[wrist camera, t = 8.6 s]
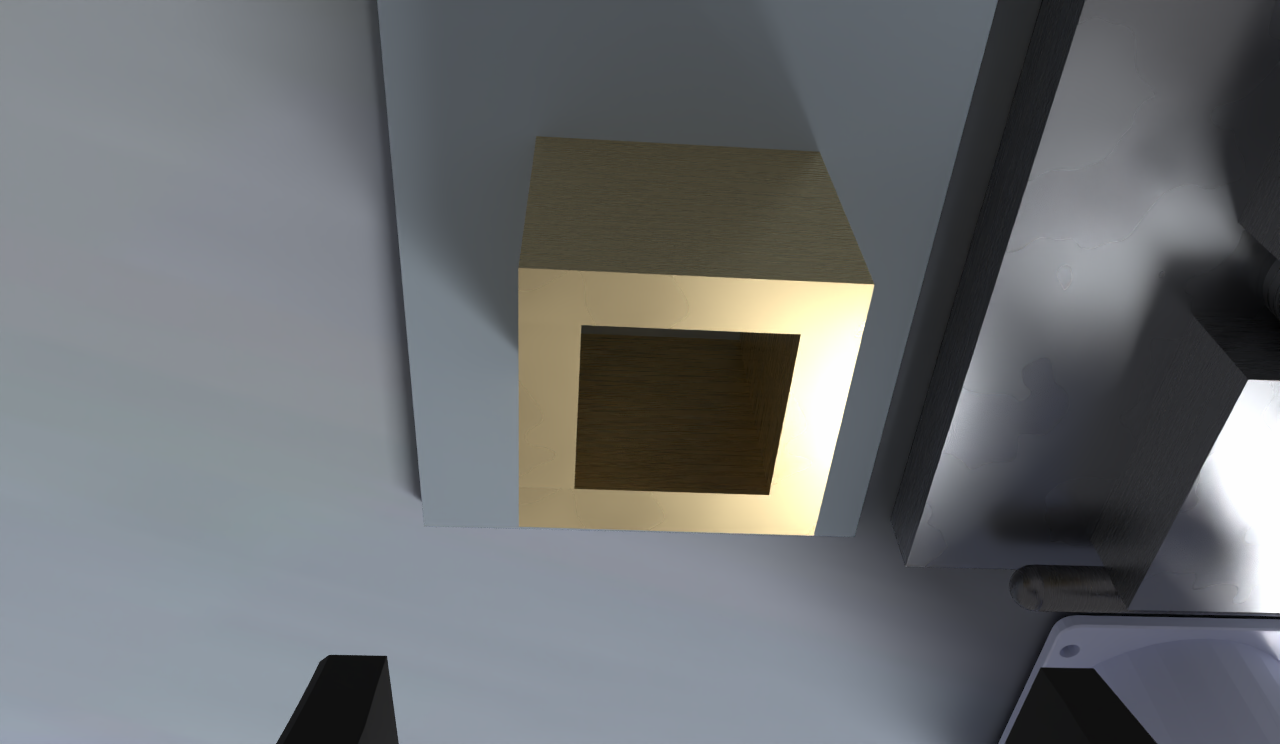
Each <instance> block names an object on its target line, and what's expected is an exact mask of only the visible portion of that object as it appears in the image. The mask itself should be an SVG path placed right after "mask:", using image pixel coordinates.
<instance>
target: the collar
mask: <svg viewBox="0 0 1280 744" xmlns="http://www.w3.org/2000/svg"><path fill="white" fill-rule="evenodd" d="M874 285H875V284H874V282H873V279H872V277H871V275H870V272H869V270H868V267H867V265H866V263H865V260H864V258H863V255H862V253H861V250H860V248H859V246H858V243H857V241H856V238H855V236H854V233H853V231H852V229H851V226H850V224H849V221H848V219H847V217H846V214H845V212H844V209H843V207H842V204H841V202H840V200H839V197H838V195H837V192H836V190H835V188H834V185H833V183H832V180H831V178H830V175H829V173H828V171H827V168H826V166H825V163H824V161H823V159H822V156H821V154H820V152H816V151H797V150H779V149H761V148H743V147H725V146H706V145H688V144H670V143H652V142H633V141H615V140H597V139H579V138H560V137H542V136H536V142H535V150H534V157H533V164H532V172H531V179H530V186H529V194H528V201H527V208H526V216H525V223H524V230H523V238H522V245H521V252H520V260H519V267H518V369H519V527H543V528H577V529H610V530H643V531H677V532H710V533H744V534H777V535H810V536H814V532H815V528H816V524H817V519H818V515H819V511H820V507H821V503H822V499H823V495H824V491H825V486H826V482H827V478H828V474H829V470H830V466H831V462H832V458H833V454H834V449H835V445H836V441H837V437H838V433H839V429H840V425H841V421H842V416H843V412H844V408H845V404H846V400H847V396H848V392H849V388H850V384H851V379H852V375H853V371H854V367H855V363H856V359H857V355H858V351H859V346H860V342H861V338H862V334H863V330H864V326H865V322H866V318H867V314H868V309H869V305H870V301H871V297H872V293H873V289H874ZM581 325H592V326H615V327H639V328H662V329H685V330H709V331H732V332H741V334H740V340H724V339H700V338H677V337H653V336H630V335H606V334H583V333H581Z"/></svg>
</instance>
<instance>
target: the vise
mask: <svg viewBox="0 0 1280 744" xmlns="http://www.w3.org/2000/svg"><path fill="white" fill-rule="evenodd" d="M891 523H892V526H893V529H894V532H895V535H896V539H897V542H898V545H899V548H900V551H901V554H902V557H903V560H904V563H905V567H935V568H979V569H1018V570H1017V571H1015V573H1014V574H1013V575H1012V577H1011V580H1010V593H1011V595H1012V598H1013V599H1014V600H1015V602H1016V603H1017V604H1018V605H1019V606H1021V607H1022V608H1024V609H1027V610H1030V611H1045V612H1094V613H1142V614H1191V615H1240V616H1280V0H1043V1H1042V5H1041V8H1040V11H1039V15H1038V18H1037V22H1036V25H1035V29H1034V32H1033V35H1032V39H1031V42H1030V46H1029V49H1028V52H1027V56H1026V59H1025V63H1024V66H1023V69H1022V73H1021V76H1020V80H1019V83H1018V87H1017V90H1016V93H1015V97H1014V100H1013V104H1012V107H1011V110H1010V114H1009V117H1008V121H1007V124H1006V128H1005V131H1004V134H1003V138H1002V141H1001V145H1000V148H999V151H998V155H997V158H996V162H995V165H994V169H993V172H992V175H991V179H990V182H989V186H988V189H987V192H986V196H985V199H984V203H983V206H982V209H981V213H980V216H979V220H978V223H977V227H976V230H975V233H974V237H973V240H972V244H971V247H970V250H969V254H968V257H967V261H966V264H965V268H964V271H963V274H962V278H961V281H960V285H959V288H958V291H957V295H956V298H955V302H954V305H953V308H952V312H951V315H950V319H949V322H948V326H947V329H946V332H945V336H944V339H943V343H942V346H941V349H940V353H939V356H938V360H937V363H936V367H935V370H934V373H933V377H932V380H931V384H930V387H929V390H928V394H927V397H926V401H925V404H924V407H923V411H922V414H921V418H920V421H919V425H918V428H917V431H916V435H915V438H914V442H913V445H912V448H911V452H910V455H909V459H908V462H907V466H906V469H905V472H904V476H903V479H902V483H901V486H900V489H899V493H898V496H897V500H896V503H895V507H894V510H893V513H892V517H891Z"/></svg>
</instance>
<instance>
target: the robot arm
mask: <svg viewBox="0 0 1280 744" xmlns="http://www.w3.org/2000/svg"><path fill="white" fill-rule="evenodd" d="M276 744H399V743H398V736H397V728H396V721H395V713H394V706H393V698H392V691H391V684H390V676H389V669H388V661H387V656H362V655H329V656H327V657H326V658H324V659H323V660H322V661H320V662H319V664H318V667H317V669H316V671H315V673H314V675H313V677H312V679H311V681H310V683H309V685H308V687H307V689H306V691H305V692H304V694H303V696H302V698H301V700H300V702H299V704H298V706H297V707H296V709H295V711H294V713H293V715H292V717H291V718H290V720H289V722H288V724H287V726H286V727H285V729H284V731H283V733H282V734H281V736H280V738H279V740H278V741H277V743H276ZM998 744H1280V619H1238V618H1189V617H1140V616H1090V615H1073V616H1067V617H1064V618H1062V619H1060V620H1059V621H1057V622H1056V624H1055V625H1054V626H1053V628H1052V630H1051V632H1050V634H1049V636H1048V638H1047V640H1046V642H1045V645H1044V647H1043V649H1042V651H1041V653H1040V655H1039V657H1038V660H1037V662H1036V664H1035V666H1034V668H1033V670H1032V672H1031V675H1030V677H1029V679H1028V681H1027V683H1026V685H1025V687H1024V690H1023V692H1022V694H1021V696H1020V698H1019V700H1018V702H1017V705H1016V707H1015V709H1014V711H1013V713H1012V715H1011V717H1010V720H1009V722H1008V724H1007V726H1006V728H1005V730H1004V732H1003V735H1002V737H1001V739H1000V741H999V743H998Z"/></svg>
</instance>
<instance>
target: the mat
mask: <svg viewBox="0 0 1280 744" xmlns="http://www.w3.org/2000/svg"><path fill="white" fill-rule="evenodd" d="M997 2H998V0H377V5H378V17H379V28H380V39H381V50H382V61H383V73H384V84H385V95H386V106H387V117H388V129H389V140H390V151H391V162H392V173H393V185H394V196H395V207H396V218H397V229H398V241H399V252H400V263H401V274H402V285H403V297H404V308H405V319H406V330H407V341H408V353H409V364H410V375H411V386H412V397H413V409H414V420H415V431H416V442H417V453H418V465H419V476H420V487H421V498H422V510H423V521H424V526H425V527H465V528H505V529H546V530H586V531H626V532H667V533H707V534H744V533H710V532H677V531H643V530H610V529H577V528H543V527H519V369H518V267H519V260H520V252H521V245H522V238H523V230H524V223H525V216H526V208H527V201H528V194H529V186H530V179H531V172H532V164H533V157H534V150H535V142H536V136H542V137H560V138H579V139H597V140H615V141H633V142H652V143H670V144H688V145H706V146H725V147H743V148H761V149H779V150H797V151H816V152H820V154H821V156H822V159H823V161H824V163H825V166H826V168H827V171H828V173H829V175H830V178H831V180H832V183H833V185H834V188H835V190H836V192H837V195H838V197H839V200H840V202H841V204H842V207H843V209H844V212H845V214H846V217H847V219H848V221H849V224H850V226H851V229H852V231H853V233H854V236H855V238H856V241H857V243H858V246H859V248H860V250H861V253H862V255H863V258H864V260H865V263H866V265H867V267H868V270H869V272H870V275H871V277H872V279H873V282H874V284H875V285H874V289H873V293H872V297H871V301H870V305H869V309H868V314H867V318H866V322H865V326H864V330H863V334H862V338H861V342H860V346H859V351H858V355H857V359H856V363H855V367H854V371H853V375H852V379H851V384H850V388H849V392H848V396H847V400H846V404H845V408H844V412H843V416H842V421H841V425H840V429H839V433H838V437H837V441H836V445H835V449H834V454H833V458H832V462H831V466H830V470H829V474H828V478H827V482H826V486H825V491H824V495H823V499H822V503H821V507H820V511H819V515H818V519H817V524H816V528H815V532H814V536H828V537H855V533H856V530H857V526H858V522H859V519H860V515H861V511H862V507H863V504H864V500H865V496H866V492H867V489H868V485H869V481H870V477H871V474H872V470H873V466H874V462H875V459H876V455H877V451H878V447H879V444H880V440H881V436H882V432H883V429H884V425H885V421H886V417H887V414H888V410H889V406H890V402H891V399H892V395H893V391H894V387H895V384H896V380H897V376H898V373H899V369H900V365H901V361H902V358H903V354H904V350H905V346H906V343H907V339H908V335H909V331H910V328H911V324H912V320H913V316H914V313H915V309H916V305H917V301H918V298H919V294H920V290H921V286H922V283H923V279H924V275H925V271H926V268H927V264H928V260H929V256H930V253H931V249H932V245H933V242H934V238H935V234H936V230H937V227H938V223H939V219H940V215H941V212H942V208H943V204H944V200H945V197H946V193H947V189H948V185H949V182H950V178H951V174H952V170H953V167H954V163H955V159H956V155H957V152H958V148H959V144H960V140H961V137H962V133H963V129H964V125H965V122H966V118H967V114H968V111H969V107H970V103H971V99H972V96H973V92H974V88H975V84H976V81H977V77H978V73H979V69H980V66H981V62H982V58H983V54H984V51H985V47H986V43H987V39H988V36H989V32H990V28H991V24H992V21H993V17H994V13H995V9H996V6H997ZM581 333H583V334H606V335H630V336H653V337H677V338H700V339H724V340H740V334H741V332H732V331H709V330H685V329H662V328H639V327H615V326H592V325H581ZM748 535H777V534H748ZM788 536H810V535H788Z"/></svg>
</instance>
